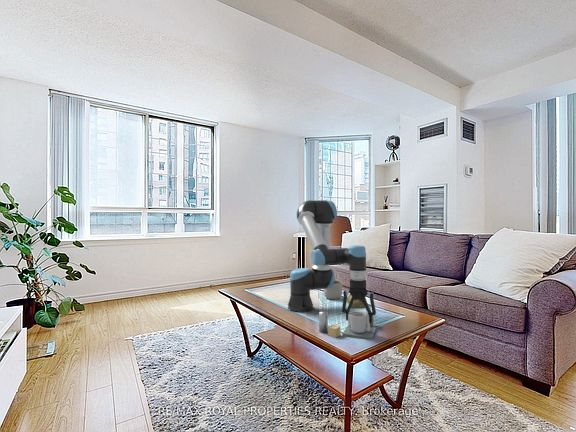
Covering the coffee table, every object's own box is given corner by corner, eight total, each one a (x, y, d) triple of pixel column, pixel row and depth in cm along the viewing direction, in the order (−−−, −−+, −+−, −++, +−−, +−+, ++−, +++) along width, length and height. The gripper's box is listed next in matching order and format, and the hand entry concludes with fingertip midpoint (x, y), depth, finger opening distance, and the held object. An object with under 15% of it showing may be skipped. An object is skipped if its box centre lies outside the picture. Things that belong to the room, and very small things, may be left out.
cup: (346, 326, 144) (345, 310, 144) (362, 326, 144) (361, 309, 145) (352, 335, 133) (352, 316, 133) (370, 334, 134) (369, 316, 134)
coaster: (342, 335, 135) (342, 333, 135) (348, 326, 147) (348, 324, 147) (372, 339, 130) (372, 337, 130) (376, 329, 142) (375, 327, 142)
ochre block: (328, 335, 136) (328, 326, 136) (333, 333, 139) (333, 324, 139) (335, 337, 133) (335, 328, 133) (340, 335, 136) (340, 326, 136)
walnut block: (361, 326, 146) (361, 316, 146) (363, 323, 151) (363, 313, 151) (372, 328, 144) (371, 317, 144) (373, 324, 149) (373, 314, 149)
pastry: (356, 301, 193) (356, 289, 193) (372, 305, 183) (372, 292, 183) (341, 305, 185) (340, 292, 185) (356, 310, 175) (356, 296, 175)
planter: (329, 295, 211) (328, 279, 212) (345, 297, 204) (345, 281, 204) (320, 299, 201) (320, 282, 202) (337, 301, 194) (336, 284, 194)
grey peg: (318, 332, 140) (317, 312, 140) (320, 329, 144) (320, 310, 144) (326, 333, 138) (326, 313, 139) (328, 330, 142) (328, 311, 142)
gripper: (333, 279, 140) (334, 328, 139) (380, 282, 131) (381, 334, 131) (337, 276, 147) (338, 323, 146) (382, 279, 138) (383, 329, 138)
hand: (359, 328), depth 138 cm, fingers closed on cup, 8 cm apart
